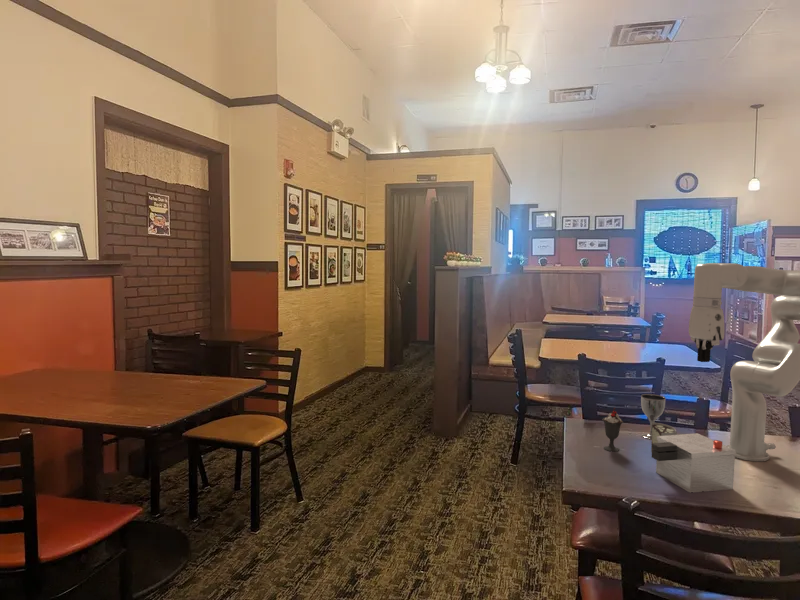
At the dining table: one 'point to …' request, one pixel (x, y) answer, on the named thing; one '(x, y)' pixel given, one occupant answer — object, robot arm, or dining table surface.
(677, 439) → the lid
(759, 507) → the dining table surface
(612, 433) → the sundae
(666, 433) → the food container
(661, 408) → the wine glass
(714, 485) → the white hinged box
